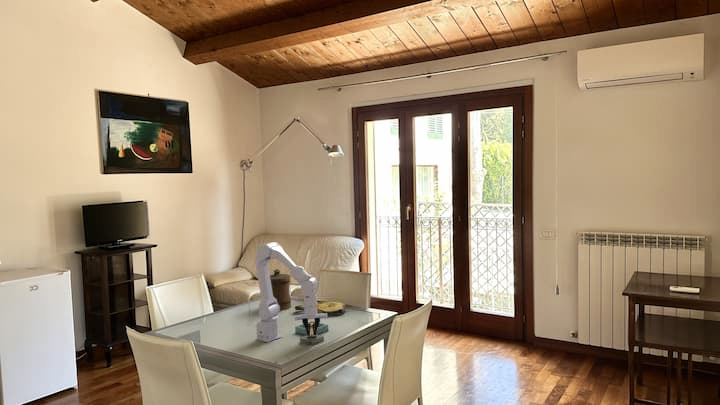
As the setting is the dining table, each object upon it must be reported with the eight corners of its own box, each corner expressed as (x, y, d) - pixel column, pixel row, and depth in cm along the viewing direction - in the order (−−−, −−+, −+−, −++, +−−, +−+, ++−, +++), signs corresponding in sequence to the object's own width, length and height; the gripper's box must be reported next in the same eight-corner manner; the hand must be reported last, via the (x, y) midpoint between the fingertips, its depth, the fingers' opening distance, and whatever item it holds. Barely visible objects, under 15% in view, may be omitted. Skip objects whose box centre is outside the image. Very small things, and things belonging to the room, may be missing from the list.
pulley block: (299, 297, 276) (350, 299, 269) (300, 307, 277) (351, 308, 271) (290, 307, 263) (344, 309, 256) (291, 317, 264) (344, 320, 257)
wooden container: (296, 306, 281) (295, 268, 280) (276, 312, 270) (274, 272, 269) (279, 303, 291) (278, 266, 290) (259, 308, 280) (258, 270, 279)
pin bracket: (312, 345, 213) (311, 340, 213) (300, 342, 218) (299, 337, 218) (323, 340, 219) (323, 336, 219) (311, 337, 224) (311, 333, 224)
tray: (311, 337, 225) (311, 330, 225) (295, 332, 232) (295, 326, 232) (328, 330, 234) (328, 324, 233) (311, 327, 241) (311, 321, 240)
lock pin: (312, 342, 217) (311, 325, 217) (307, 341, 219) (307, 324, 218) (316, 341, 219) (315, 323, 219) (312, 340, 221) (311, 322, 220)
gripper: (293, 308, 213) (295, 338, 214) (327, 306, 215) (328, 336, 215) (294, 304, 220) (295, 334, 221) (326, 302, 222) (327, 331, 222)
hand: (311, 335), depth 219 cm, fingers closed on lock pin, 3 cm apart
